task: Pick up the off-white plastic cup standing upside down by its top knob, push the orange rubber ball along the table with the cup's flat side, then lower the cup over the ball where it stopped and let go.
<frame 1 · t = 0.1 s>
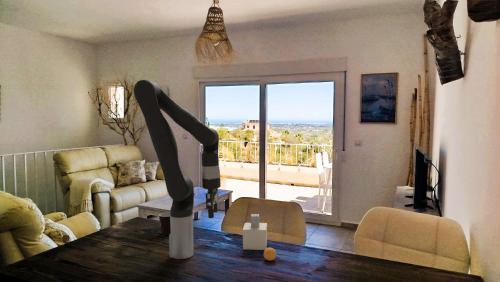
hand: (213, 215, 140), 17 cm above the table, tool pointing down, fingers open, 8 cm apart
coffee mug: (169, 233, 171), on the table
cup: (255, 245, 153), on the table
ball: (269, 254, 136), on the table
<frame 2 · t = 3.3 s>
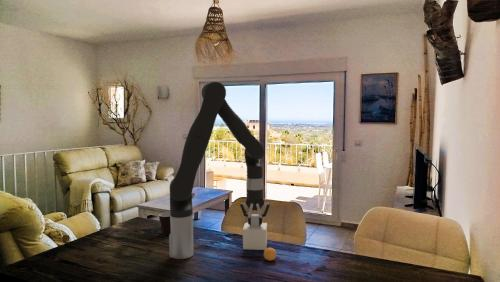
hand: (255, 225, 152), 9 cm above the table, tool pointing down, fingers closed on cup, 3 cm apart
cup: (255, 245, 153), on the table, touching gripper
everything else where it was.
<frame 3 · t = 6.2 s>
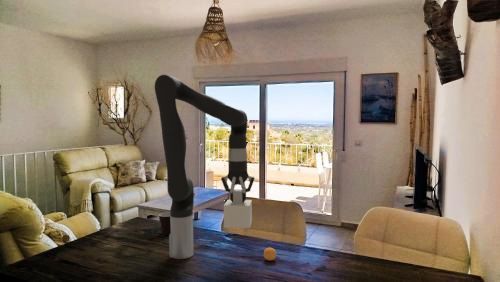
hand: (238, 201, 136), 24 cm above the table, tool pointing down, fingers closed on cup, 3 cm apart
cup: (238, 224, 136), point 15 cm above the table, touching gripper
everything else where it was.
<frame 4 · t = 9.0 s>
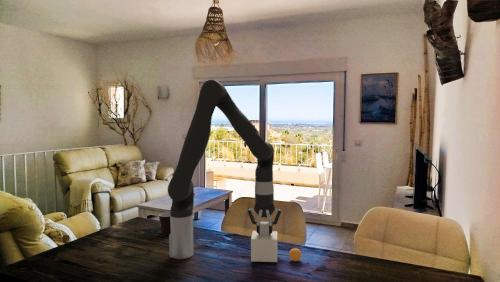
hand: (264, 234, 136), 11 cm above the table, tool pointing down, fingers closed on cup, 3 cm apart
cup: (264, 256, 136), point 1 cm above the table, touching gripper
ball: (295, 254, 135), on the table
everything else where it was.
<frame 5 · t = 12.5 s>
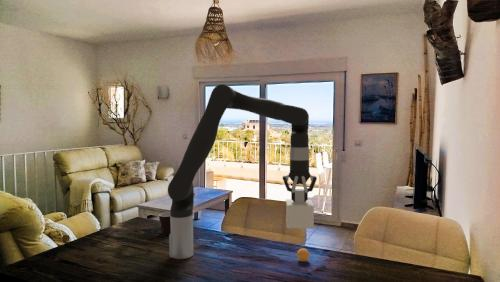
hand: (299, 201, 134), 24 cm above the table, tool pointing down, fingers closed on cup, 3 cm apart
cup: (299, 224, 134), point 15 cm above the table, touching gripper
ball: (303, 254, 135), on the table
everything else where it was.
when the fingers open (10 cm above the table, at t = 15.9 s): cup stays where it is, on the table.
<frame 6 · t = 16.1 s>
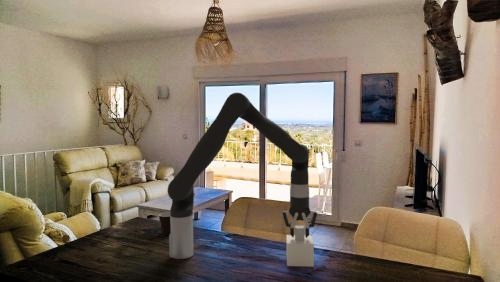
hand: (299, 236, 134), 10 cm above the table, tool pointing down, fingers open, 4 cm apart
cup: (299, 260, 135), on the table
everything else where it was.
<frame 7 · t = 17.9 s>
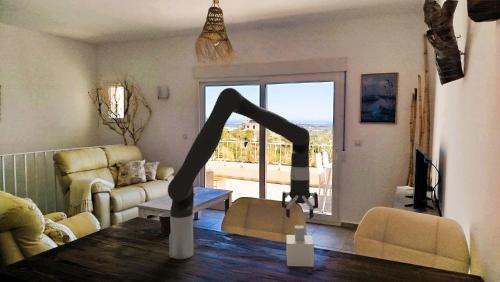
hand: (299, 218, 134), 17 cm above the table, tool pointing down, fingers open, 8 cm apart
nothing on the table moved.
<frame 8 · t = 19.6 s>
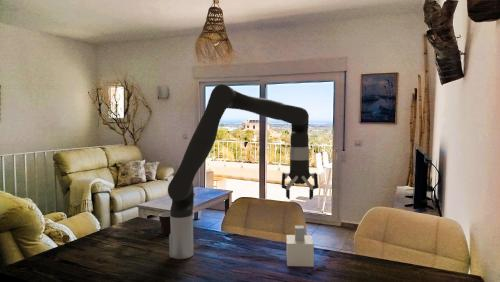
hand: (299, 198, 134), 25 cm above the table, tool pointing down, fingers open, 8 cm apart
nothing on the table moved.
at the end: ball 1.4 cm from the cup (horizontally); cup on the table; ball moved 13.3 cm from its start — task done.
